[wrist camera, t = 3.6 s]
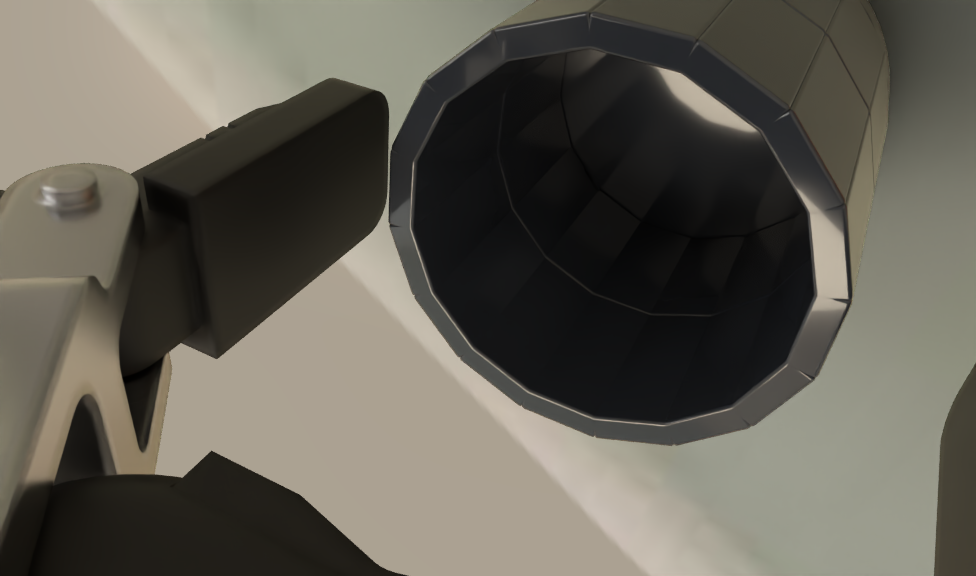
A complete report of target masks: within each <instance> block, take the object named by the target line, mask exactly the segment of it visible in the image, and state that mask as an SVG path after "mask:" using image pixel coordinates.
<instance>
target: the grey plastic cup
mask: <svg viewBox="0 0 976 576" xmlns="http://www.w3.org/2000/svg"><path fill="white" fill-rule="evenodd" d="M889 95H890V68H889V59H888V51H887V47H886V44H885V40H884V36H883V33H882V29H881V26H880V24H879V22H878V20H877V17H876V15H875V13H874V10H873V8H872V6H871V5H870V3H869V1H868V0H536V1H535V2H533V3H532V4H530V5H528V6H527V7H525V8H524V9H522V10H520V11H519V12H517V13H516V14H514V15H513V16H511V17H509V18H508V19H506V20H505V21H503V22H501V23H500V24H498V25H497V26H495V27H494V28H492V29H490V30H489V31H488V32H486V33H485V34H484V35H482V36H481V37H480V38H478V39H477V40H476V41H474V42H473V43H472V44H470V45H469V46H468V47H466V48H465V49H464V50H462V51H461V52H460V53H458V54H457V55H456V56H454V57H453V58H452V59H450V60H449V61H448V62H446V63H445V64H444V65H442V66H441V67H440V68H438V69H437V70H436V71H434V72H433V73H431V74H430V75H429V76H428V77H427V79H426V80H425V81H424V82H423V84H422V86H421V88H420V90H419V92H418V94H417V96H416V98H415V100H414V102H413V104H412V106H411V108H410V110H409V112H408V114H407V116H406V118H405V121H404V123H403V125H402V127H401V129H400V131H399V133H398V135H397V137H396V139H395V141H394V143H393V145H392V150H391V155H390V190H389V223H390V230H391V233H392V236H393V239H394V242H395V245H396V248H397V250H398V253H399V256H400V259H401V262H402V265H403V268H404V271H405V274H406V277H407V280H408V283H409V286H410V288H411V291H412V294H413V295H415V296H414V297H415V299H416V301H417V302H418V303H419V305H420V306H421V308H422V309H423V310H424V312H425V313H426V314H427V316H428V317H429V318H430V320H431V321H432V323H433V324H434V325H435V327H436V328H437V329H438V331H439V332H440V333H441V335H442V336H443V337H444V339H445V340H446V342H447V343H448V344H449V346H450V347H451V348H452V350H453V351H454V352H455V354H456V355H457V356H458V357H461V358H460V359H461V361H463V362H464V363H465V364H467V365H468V366H469V367H470V368H472V369H473V370H474V371H476V372H477V373H478V374H479V375H481V376H482V377H483V378H485V379H486V380H487V381H488V382H490V383H491V384H492V385H493V386H495V387H496V388H497V389H499V390H500V391H501V392H502V393H504V394H505V395H506V396H508V397H509V398H510V399H511V400H513V401H514V402H515V403H516V404H518V405H520V406H521V405H522V407H523V408H524V409H527V410H529V411H532V412H534V413H536V414H539V415H541V416H544V417H546V418H548V419H551V420H553V421H556V422H558V423H560V424H563V425H565V426H568V427H570V428H572V429H575V430H577V431H580V432H582V433H584V434H587V435H589V436H592V437H594V436H595V437H597V438H602V439H612V440H621V441H631V442H640V443H650V444H659V445H669V446H672V445H681V444H685V443H689V442H693V441H698V440H702V439H706V438H710V437H714V436H719V435H723V434H727V433H731V432H735V431H740V430H744V429H748V428H750V427H751V426H754V425H756V424H757V423H758V422H760V421H761V420H762V419H764V418H765V417H766V416H768V415H769V414H770V413H772V412H773V411H774V410H776V409H777V408H778V407H780V406H781V405H782V404H784V403H785V402H786V401H788V400H789V399H790V398H791V397H793V396H794V395H795V394H797V393H798V392H799V391H801V390H802V389H803V388H805V387H806V386H807V385H809V384H810V383H811V382H813V381H814V380H815V378H816V377H817V376H818V375H819V373H820V371H821V369H822V367H823V365H824V363H825V361H826V358H827V356H828V354H829V352H830V350H831V348H832V346H833V343H834V341H835V339H836V337H837V335H838V333H839V331H840V328H841V326H842V324H843V322H844V320H845V318H846V316H847V314H848V311H849V309H850V307H851V305H852V301H853V296H854V291H855V287H856V282H857V277H858V272H859V267H860V262H861V257H862V252H863V247H864V242H865V237H866V232H867V227H868V222H869V217H870V212H871V207H872V202H873V197H874V192H875V187H876V182H877V177H878V172H879V167H880V162H881V157H882V152H883V147H884V142H885V137H886V132H887V127H888V121H889V114H888V103H889Z"/></svg>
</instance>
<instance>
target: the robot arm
mask: <svg viewBox="0 0 976 576" xmlns="http://www.w3.org/2000/svg"><path fill="white" fill-rule="evenodd" d="M388 136H389V108H388V103H387V100H386V98H385V96H384V95H383V94H382V93H381V92H379V91H376V90H373V89H369V88H366V87H363V86H359V85H356V84H353V83H349V82H346V81H343V80H340V79H336V78H329V79H326V80H324V81H322V82H320V83H318V84H317V85H315V86H313V87H311V88H309V89H307V90H305V91H303V92H301V93H299V94H298V95H296V96H294V97H292V98H290V99H288V100H286V101H284V102H282V103H280V104H275V105H271V106H267V107H263V108H259V109H255V110H253V111H251V112H249V113H247V114H246V115H244V116H242V117H240V118H238V119H236V120H234V121H232V122H230V123H229V124H228V127H224V126H222V127H220V128H218V129H217V130H215V131H213V132H211V133H209V134H207V135H206V138H205V139H203V138H199V139H197V140H196V141H194V142H191V143H189V144H188V145H186V146H184V147H182V148H180V149H178V150H176V151H174V152H172V153H170V154H168V155H167V156H164V157H163V158H161V159H159V160H157V161H155V162H153V163H151V164H149V165H147V166H145V167H143V168H141V169H139V170H137V171H135V172H133V173H132V174H129V173H127V172H125V171H123V170H121V169H119V168H116V167H112V166H107V165H102V164H90V163H80V164H67V165H60V166H55V167H50V168H46V169H42V170H39V171H36V172H34V173H31V174H29V175H26V176H24V177H22V178H20V179H19V180H17V181H16V182H14V183H13V184H12V185H10V186H9V187H8V188H7V190H6V191H4V190H0V576H407V575H403V574H398V573H395V572H392V571H388V570H386V569H384V568H382V567H380V566H379V565H378V564H376V563H375V562H374V561H373V560H371V559H370V558H369V557H368V556H367V555H366V554H365V553H364V552H363V551H362V550H360V549H359V548H358V547H357V546H356V545H355V544H354V543H353V542H352V541H350V540H349V539H348V538H347V537H346V536H345V535H344V534H343V533H342V532H340V531H339V530H338V529H337V528H336V527H335V526H334V525H333V524H332V523H331V522H329V521H328V520H327V519H326V518H325V517H324V516H323V515H322V514H321V513H319V512H318V511H317V510H316V509H315V508H314V507H313V506H312V505H311V504H310V503H308V502H307V501H306V500H305V499H304V498H303V497H302V496H301V495H299V494H297V493H295V492H293V491H291V490H289V489H287V488H285V487H283V486H281V485H279V484H277V483H275V482H273V481H271V480H269V479H267V478H265V477H263V476H261V475H259V474H257V473H255V472H253V471H251V470H248V469H247V468H245V467H243V466H241V465H239V464H237V463H235V462H233V461H231V460H229V459H227V458H225V457H223V456H221V455H219V454H217V453H215V452H213V451H211V452H210V453H209V454H208V455H206V456H205V457H204V458H203V459H202V460H201V461H200V462H199V463H198V464H197V465H196V466H195V467H194V468H193V469H192V470H190V471H189V472H188V473H187V474H186V475H185V476H184V477H183V478H181V477H173V476H164V475H155V469H156V463H157V457H158V451H159V445H160V439H161V433H162V428H163V421H164V416H165V410H166V404H167V398H168V392H169V386H170V380H171V374H172V365H171V360H170V355H169V351H171V350H172V349H173V348H175V347H176V346H177V345H178V344H180V343H183V344H185V345H187V346H189V347H191V348H194V349H196V350H198V351H200V352H202V353H205V354H207V355H209V356H211V357H213V358H215V359H218V358H219V357H220V356H221V355H223V354H224V353H225V352H226V351H227V350H229V349H230V348H231V347H232V346H234V345H235V344H236V343H237V342H239V341H240V340H241V339H242V338H243V337H245V336H246V335H247V334H248V333H249V332H251V331H252V330H253V329H254V328H256V327H257V326H258V325H259V324H260V323H262V322H263V321H264V320H265V319H266V318H268V317H269V316H270V315H271V314H273V313H274V312H275V311H276V310H277V309H279V308H280V307H281V306H282V305H284V304H285V303H286V302H287V301H288V300H290V299H291V298H292V297H293V296H295V295H296V294H297V293H298V292H299V291H301V290H302V289H303V288H304V287H306V286H307V285H308V284H309V283H310V282H312V281H313V280H314V279H315V278H317V277H318V276H319V275H320V274H321V273H322V272H324V271H325V270H326V269H327V268H329V267H330V266H331V265H332V264H333V263H335V262H336V261H337V260H338V259H340V258H341V257H342V256H343V255H345V254H346V253H347V252H348V251H349V250H351V249H352V248H353V247H354V246H356V245H357V244H358V243H359V242H360V241H362V240H363V239H364V238H365V237H366V236H368V235H369V234H370V233H371V232H372V231H373V230H374V228H375V227H376V225H377V224H378V222H379V220H380V218H381V216H382V214H383V211H384V208H385V204H386V199H387V183H388ZM934 576H976V364H975V365H974V367H973V369H972V370H971V372H970V374H969V375H968V377H967V379H966V380H965V382H964V384H963V385H962V387H961V389H960V390H959V392H958V394H957V396H956V398H955V400H954V402H953V404H952V406H951V409H950V411H949V414H948V416H947V419H946V422H945V426H944V429H943V433H942V438H941V445H940V464H939V485H938V505H937V526H936V547H935V568H934Z"/></svg>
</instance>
